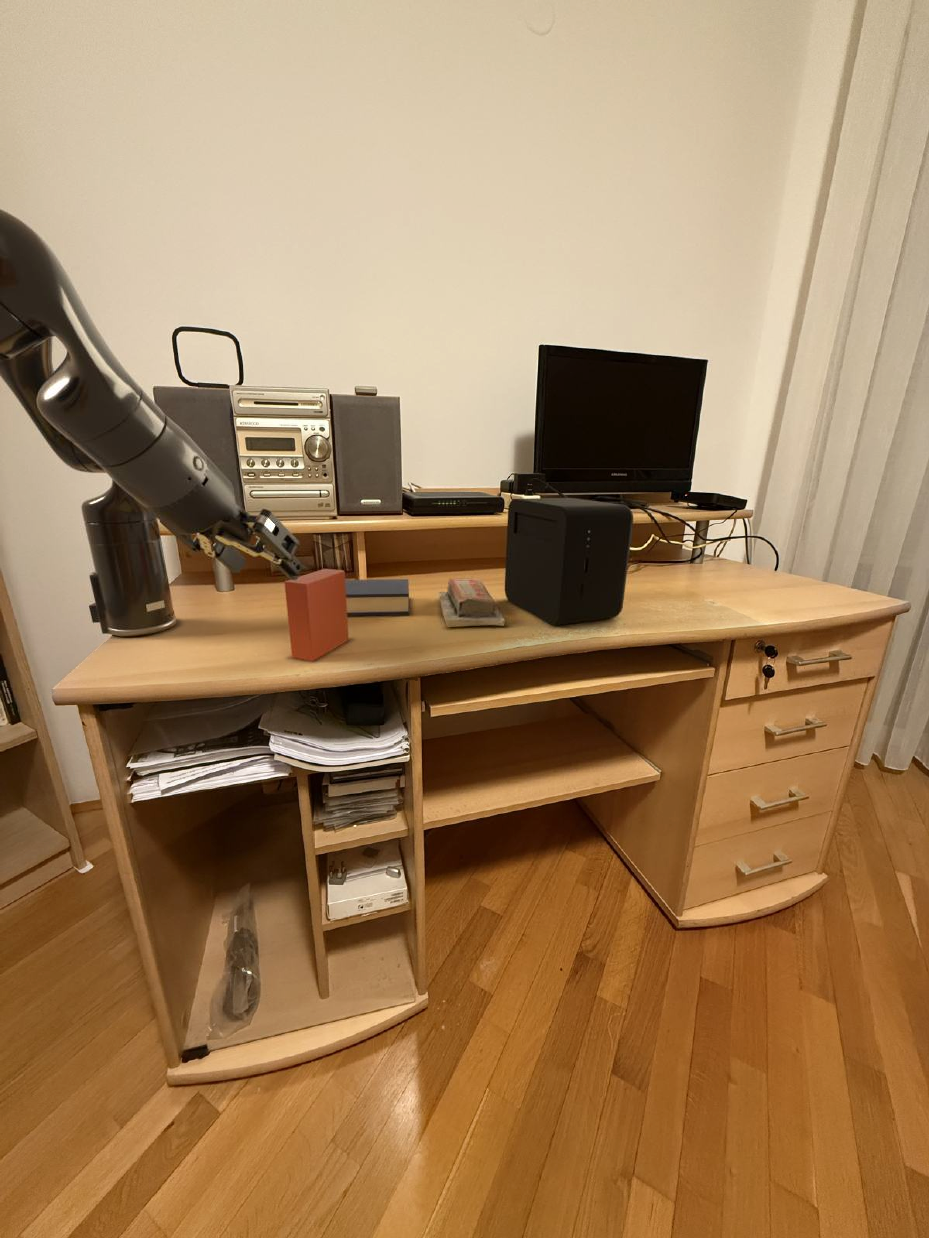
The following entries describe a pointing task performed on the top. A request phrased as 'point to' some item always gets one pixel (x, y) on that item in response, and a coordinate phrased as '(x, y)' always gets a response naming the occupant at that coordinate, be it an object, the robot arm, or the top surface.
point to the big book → (377, 597)
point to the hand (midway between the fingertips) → (268, 570)
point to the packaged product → (469, 604)
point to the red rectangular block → (317, 613)
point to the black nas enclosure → (567, 558)
